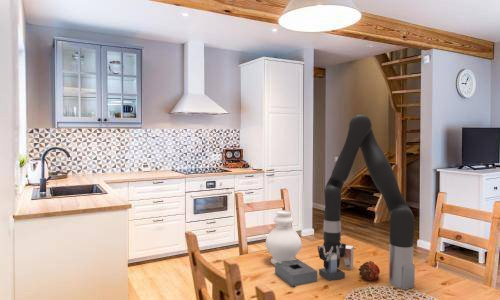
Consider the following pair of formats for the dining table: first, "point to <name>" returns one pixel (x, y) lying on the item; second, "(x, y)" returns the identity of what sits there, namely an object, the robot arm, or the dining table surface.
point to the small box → (347, 258)
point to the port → (295, 272)
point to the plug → (332, 263)
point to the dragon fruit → (369, 271)
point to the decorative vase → (283, 239)
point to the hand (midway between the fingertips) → (331, 267)
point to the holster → (331, 274)
